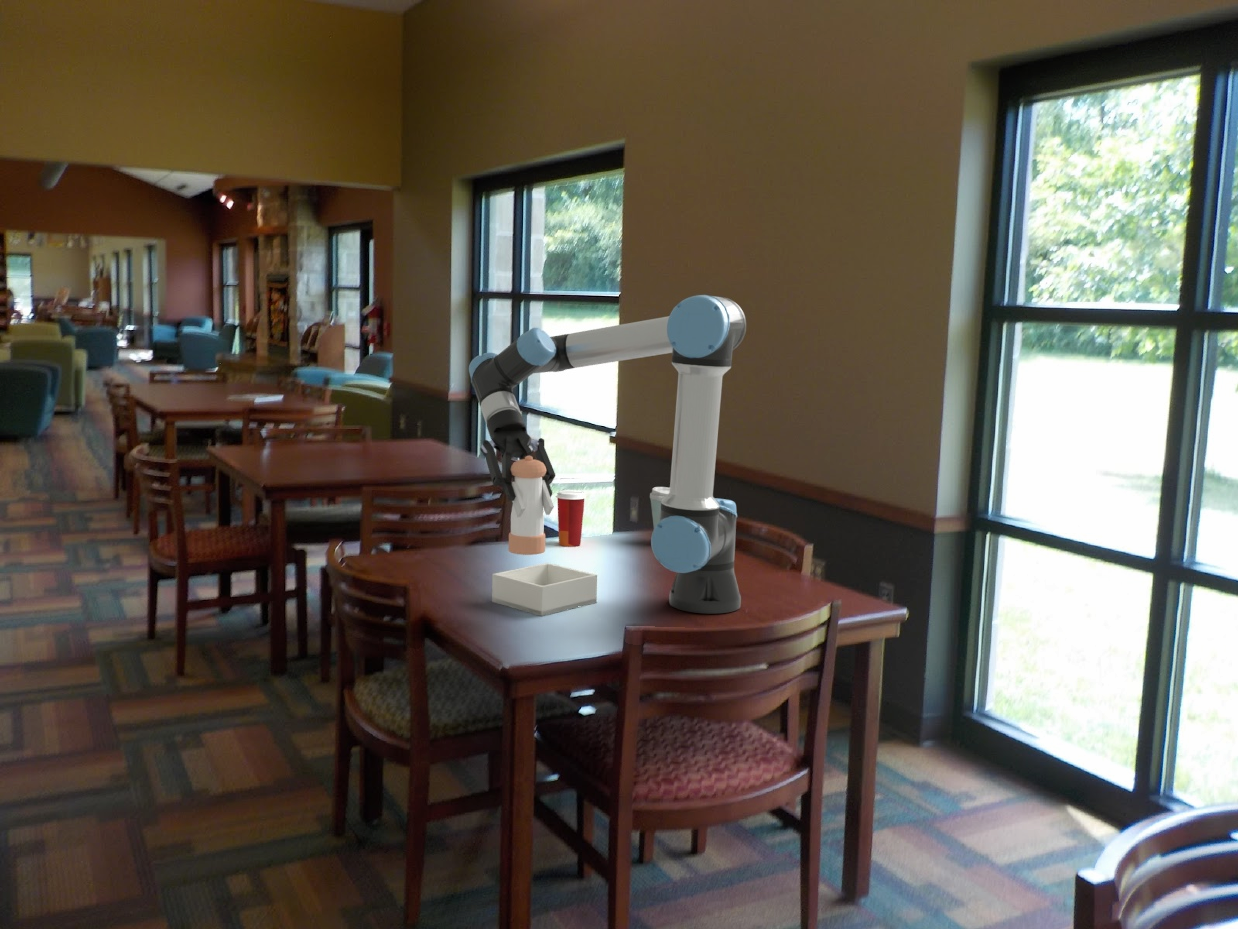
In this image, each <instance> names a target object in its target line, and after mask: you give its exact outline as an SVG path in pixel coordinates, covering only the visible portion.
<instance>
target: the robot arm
mask: <svg viewBox="0 0 1238 929" xmlns="http://www.w3.org/2000/svg"><path fill="white" fill-rule="evenodd" d="M742 309H743V308H741V306H740V305H739V304H738V303H736V302H735V301H734V300H732V299H730V298H728V297H723V296H714V295H707V294H696V295H693V296H690V297H687V298H684V299H683V300H681V301H680V302H679V303H677V304H676V305H675V306H674V307H673V309H672V311H671V312H670V314H669V316H663V317H658V318H657V317H656V318H651V319H646V320H641V321H634V322H630V323H629V322H628V323H622V324H618V325H612V326H606V327H600V328H594V329H589V330H582V331H577V332H571V333H565V334H559V335H555V336H554V335H553V336H550V335H549V334H548V333H547V331H544V330H543V329H541V328H539V327H532V328H530V329H529V330H527V331H526V332H524V333H522V334H521V335H520V336H519V337H517V339H515V341H513V342H512V343H511V344H510V345H509V346H507V347H506V348H505V349H503V350H502V351H501V352H500V353H498V354H497V353H495V352H485V353H484V352H483V354H482V355H477V356H475V357H474V358H473V359H472V360H471V361H470V363H469V366H468V372H469V376H470V383H471V386H472V387H473V390H474V392H475V394H476V398H477V400H478V403H479V406H480V407H479V408H480V410H481V413H482V416H483V420H484V422H485V425H486V429H487V431H488V434H489V436H490V440H488V439H484V440H483V442H482V444H481V446H480V448H479V451H480V452H481V453H482V455H483V456H484V459H485V461H486V465H487V468H488V471H489V474H490V475H489V476H490V478H491V482H492V486H494V487H495V488H498V487H501V488H500V489H501V491H502V492H504V493H505V495H506V496H505V497H506V499H507V501H509V502H512V506H513V505H514V508H515V511H516V514H517V517H521V516H522V514H523V512H524V510H525V507H524V504H523V501H522V498H521V495H520V492H519V489H518V486H517V483H516V482H515V481H512V480H513V479H512V476H513V475H512V472H511V466H512V459H514V458H517V459H519V460H521V459H525V457H526V456H532V457H533V459H534V460H539V461H541V462H542V463H544V465H545V467H546V470H547V471H546V474H545V475H544V476H542V504H543V511H544V513H545V515H546V516H547V515H548V516H549V515H550V514H551V513H552V512H553V509H554V507H555V506H554V503H553V500H552V498H551V497H552V495H553V490H552V488H551V484H553V481H554V480H555V478H556V472H555V469H554V468H553V465H552V463H551V461H550V457H549V456H548V453H547V451H546V448H545V439H544V438H543V437H542V438H541V437H540V438H539V439H532V437H531V436H530V435H529V434H528V432H527V428H526V424H525V421H524V419H523V418H524V417H523V415H522V414H521V409H520V406H519V404H518V402H517V398H516V396H515V393H514V388H516V387H517V386H518V385H520V384H522V383H523V381H525V380H526V379H527V378H529V377H530V376H532V375H533V374H541V373H551V372H553V373H559V372H564V371H566V370H573V369H576V368H583V367H589V366H597V365H601V364H608V363H615V362H621V361H627V360H633V359H640V358H641V359H642V358H646V357H652V356H653V357H654V356H658V355H660V356H661V355H667V354H671V364H672V366H673V367H674V369H675V370H676V371H677V372H678V373H677V374H678V375H677V376H678V377H677V390H676V402H675V403H676V404H675V418H674V429H673V442H672V445H673V446H672V454H671V455H672V456H671V467H670V469H671V470H670V481H669V483H670V484H669V488H670V492H669V494H668V495H667V496H666V497H664V498H663V499H662V500H661V510H660V522H659V523H658V524H657V525H656V526H655V528H654V527H653V531H652V532H651V533H652V534H651V536H650V537H651V539H650V545H651V550H652V552H653V555H654V557H655V559H656V560H657V561H658V563H659V564H660V565H662V566H663V567H664V568H665V569H667V570H668V571H671V572H674V573H676V575H675V577H674V579H673V582H672V584H671V589H670V591H669V598H668V599H669V601H668V603H669V605H670V606H671V607H673V608H674V609H677V610H680V611H684V612H689V613H697V614H708V615H710V614H714V615H716V614H726V613H733V612H735V611H738V610H739V609H741V606H742V605H741V604H742V603H741V602H742V595H741V593H740V591H739V585H738V583H737V582H738V581H737V578H736V573H735V552H736V551H735V550H736V533H737V532H736V529H737V518H738V513H737V504H736V502H735V501H733V500H731V499H724V498H718V497H717V498H715V497H714V486H715V471H716V460H717V449H718V448H717V447H718V433H719V425H720V414H721V413H720V410H721V400H722V388H723V377H724V375H725V374H726V373H727V372H728V371H730V369H731V368H732V362H733V360H732V359H733V351H734V350H735V349H737V348H738V346H739V345H741V343H742V341H743V340H744V338H745V336H746V331H747V319H746V316H745V312H744V311H743V310H742ZM531 447H532V449H531ZM495 450H496V451H497V452H498V453H500V463H501V468H500V465H499V462H498V458H497V455H496V452H495ZM533 452H534V453H535V456H534V455H533Z"/></svg>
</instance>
